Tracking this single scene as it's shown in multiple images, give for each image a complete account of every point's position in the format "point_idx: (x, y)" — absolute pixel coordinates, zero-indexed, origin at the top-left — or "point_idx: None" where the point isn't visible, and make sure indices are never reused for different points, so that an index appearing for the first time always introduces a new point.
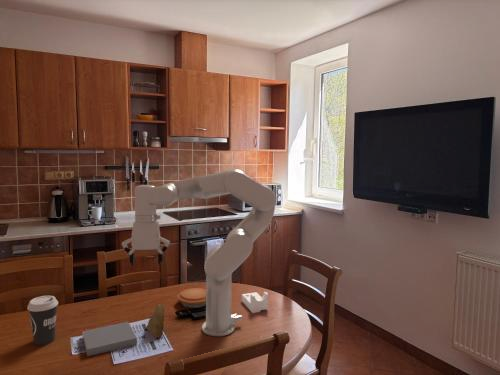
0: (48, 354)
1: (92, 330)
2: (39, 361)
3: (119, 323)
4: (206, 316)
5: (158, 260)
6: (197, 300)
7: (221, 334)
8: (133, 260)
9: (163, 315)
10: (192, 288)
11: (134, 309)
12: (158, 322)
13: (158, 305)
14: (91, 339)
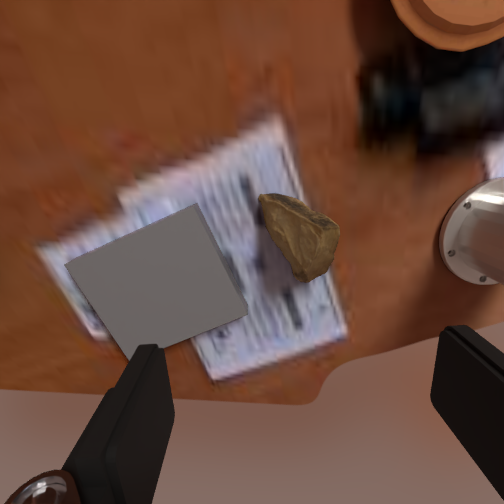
0: (32, 335)
1: (94, 261)
2: (30, 361)
3: (166, 218)
4: (486, 257)
5: (461, 440)
6: (478, 32)
7: (492, 283)
8: (160, 455)
9: (332, 260)
10: None
11: (177, 30)
12: (312, 277)
13: (319, 248)
14: (117, 315)
